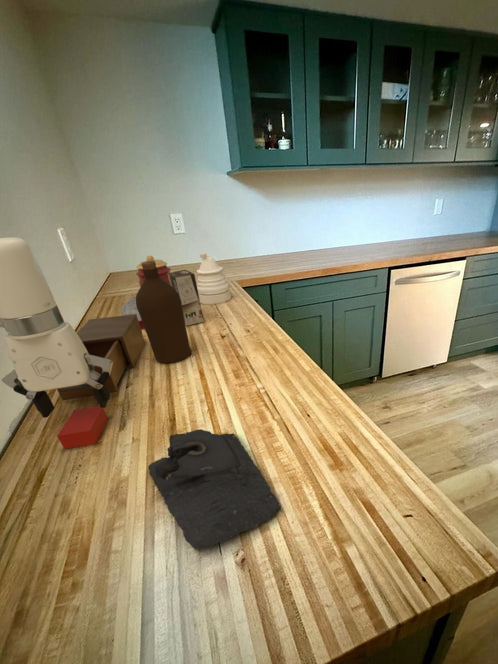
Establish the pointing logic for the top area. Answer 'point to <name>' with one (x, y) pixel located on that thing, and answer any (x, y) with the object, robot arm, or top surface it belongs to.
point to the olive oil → (162, 316)
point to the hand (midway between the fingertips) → (77, 408)
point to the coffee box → (187, 295)
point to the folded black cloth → (212, 487)
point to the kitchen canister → (160, 266)
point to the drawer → (100, 369)
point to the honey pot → (212, 282)
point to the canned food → (131, 310)
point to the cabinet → (116, 334)
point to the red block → (83, 427)
